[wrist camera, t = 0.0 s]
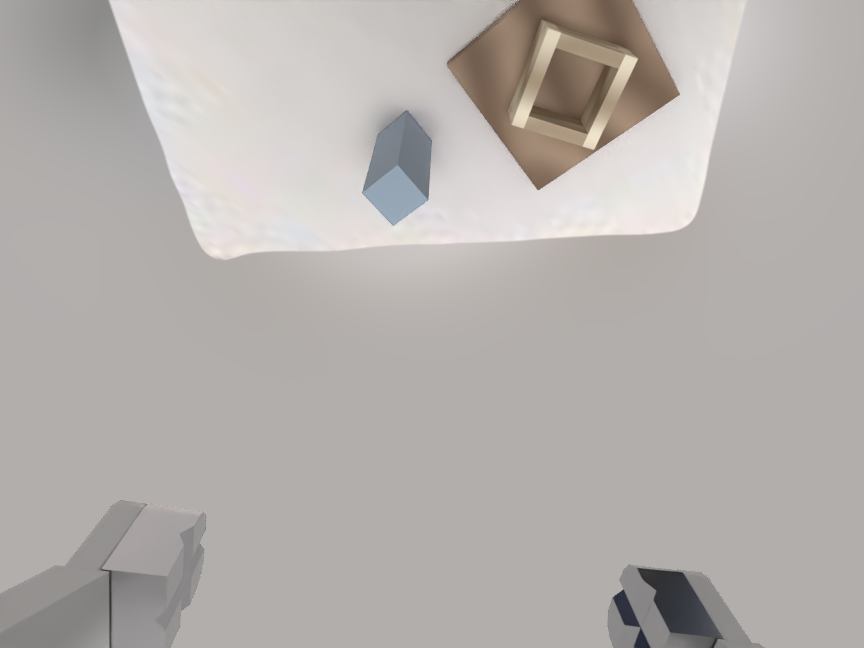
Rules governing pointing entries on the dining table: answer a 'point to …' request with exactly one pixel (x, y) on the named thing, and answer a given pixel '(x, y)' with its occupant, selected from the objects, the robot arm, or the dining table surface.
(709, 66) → the dining table surface
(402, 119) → the slate peg
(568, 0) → the socket board
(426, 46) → the dining table surface
